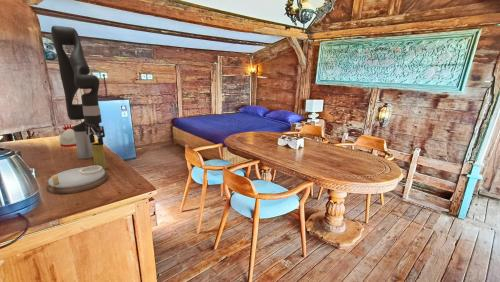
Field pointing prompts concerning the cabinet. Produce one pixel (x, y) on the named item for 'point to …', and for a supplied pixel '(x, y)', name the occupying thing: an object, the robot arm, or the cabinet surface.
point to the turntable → (77, 177)
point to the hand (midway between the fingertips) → (96, 143)
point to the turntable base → (76, 189)
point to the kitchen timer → (68, 137)
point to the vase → (99, 155)
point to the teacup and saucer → (59, 138)
